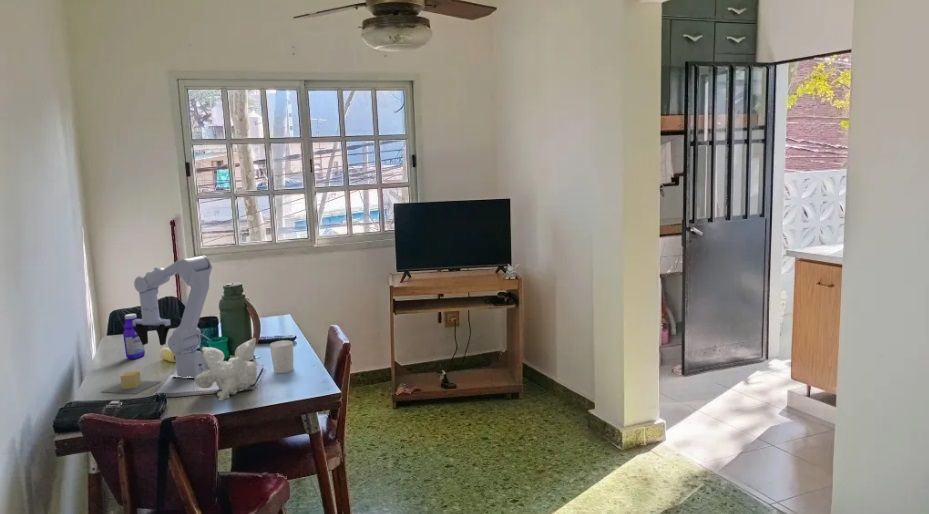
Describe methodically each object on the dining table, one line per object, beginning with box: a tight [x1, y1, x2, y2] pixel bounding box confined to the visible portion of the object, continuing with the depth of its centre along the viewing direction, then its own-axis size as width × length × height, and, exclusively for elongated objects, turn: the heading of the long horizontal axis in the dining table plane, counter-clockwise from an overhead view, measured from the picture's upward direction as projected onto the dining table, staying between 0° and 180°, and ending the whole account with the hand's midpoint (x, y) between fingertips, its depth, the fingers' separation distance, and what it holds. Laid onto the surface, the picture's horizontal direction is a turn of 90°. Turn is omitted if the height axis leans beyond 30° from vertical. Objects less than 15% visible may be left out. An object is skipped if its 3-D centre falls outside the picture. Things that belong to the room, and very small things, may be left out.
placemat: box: [100, 380, 162, 395], centre depth 225 cm, size 14×12×1 cm
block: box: [120, 370, 142, 389], centre depth 225 cm, size 4×4×4 cm
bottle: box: [122, 313, 146, 360], centre depth 261 cm, size 7×6×17 cm
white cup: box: [269, 339, 294, 374], centre depth 235 cm, size 8×8×10 cm
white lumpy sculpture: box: [194, 337, 258, 402], centre depth 216 cm, size 19×20×20 cm
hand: (154, 344), depth 240 cm, fingers open, 7 cm apart
